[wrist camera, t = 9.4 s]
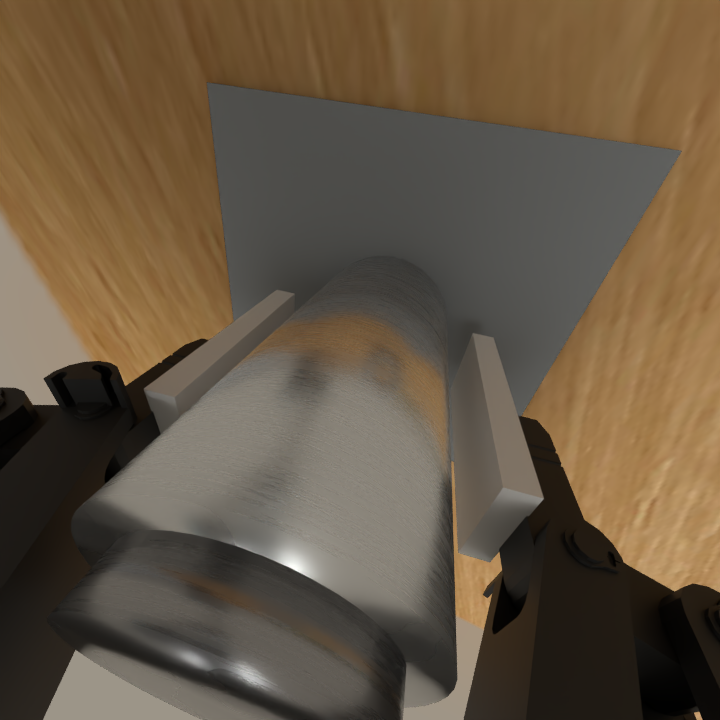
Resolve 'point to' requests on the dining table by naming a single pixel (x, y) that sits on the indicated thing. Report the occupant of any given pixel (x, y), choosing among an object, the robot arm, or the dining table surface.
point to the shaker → (290, 523)
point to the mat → (429, 213)
